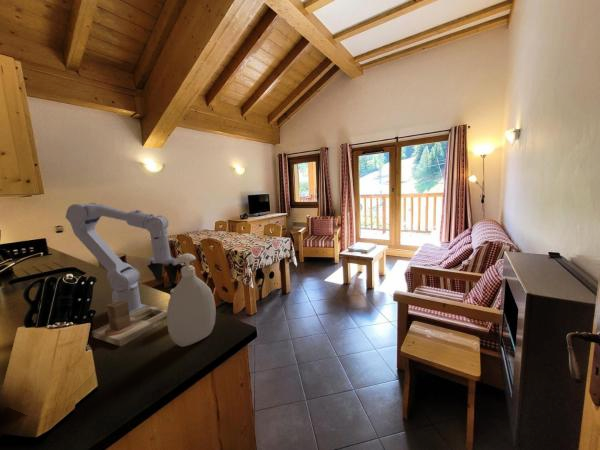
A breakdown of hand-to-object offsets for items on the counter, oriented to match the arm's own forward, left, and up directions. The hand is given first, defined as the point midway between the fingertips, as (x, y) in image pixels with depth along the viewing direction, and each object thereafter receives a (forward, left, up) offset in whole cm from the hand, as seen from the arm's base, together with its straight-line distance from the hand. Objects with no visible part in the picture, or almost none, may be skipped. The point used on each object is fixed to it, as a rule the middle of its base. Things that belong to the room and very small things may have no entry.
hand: (166, 281), depth 100 cm
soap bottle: (+27, -13, -11) cm, 32 cm away
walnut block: (+2, -20, -8) cm, 21 cm away
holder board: (+2, -15, -10) cm, 18 cm away
